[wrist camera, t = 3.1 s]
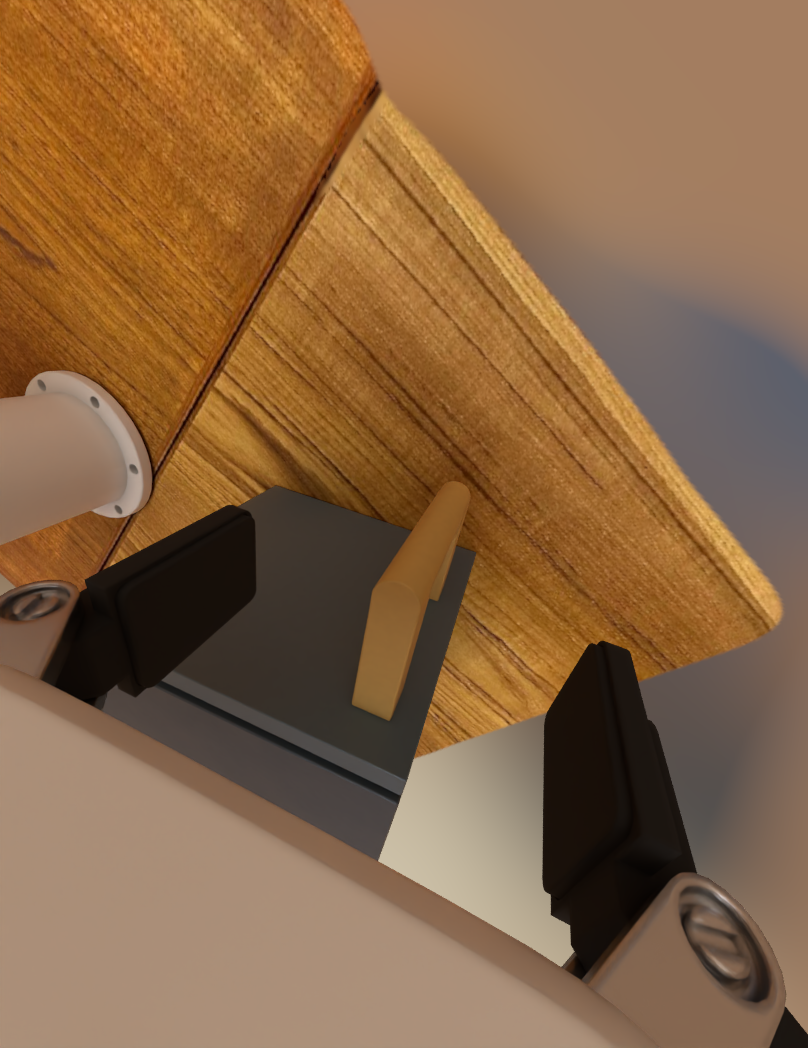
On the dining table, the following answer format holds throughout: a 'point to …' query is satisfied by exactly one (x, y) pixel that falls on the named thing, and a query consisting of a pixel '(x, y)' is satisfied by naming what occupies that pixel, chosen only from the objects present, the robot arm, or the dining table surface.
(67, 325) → the dining table surface
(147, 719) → the cupboard
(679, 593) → the dining table surface
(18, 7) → the dining table surface
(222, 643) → the door
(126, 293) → the dining table surface
